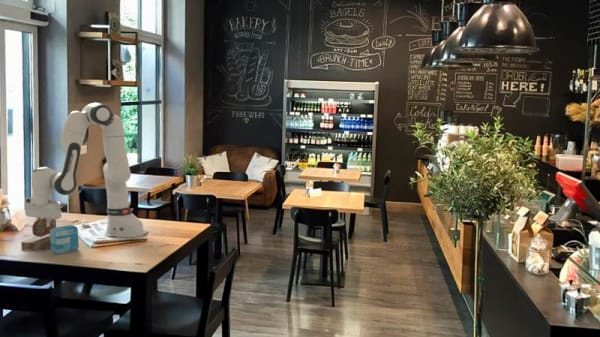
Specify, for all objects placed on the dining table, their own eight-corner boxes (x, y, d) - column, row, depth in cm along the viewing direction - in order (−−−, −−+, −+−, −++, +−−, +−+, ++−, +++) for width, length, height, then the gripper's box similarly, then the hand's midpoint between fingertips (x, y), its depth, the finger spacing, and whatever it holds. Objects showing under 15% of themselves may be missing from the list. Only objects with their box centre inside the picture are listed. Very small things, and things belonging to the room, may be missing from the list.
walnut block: (67, 240, 314) (67, 233, 313) (43, 251, 295) (42, 243, 294) (47, 239, 317) (46, 232, 316) (21, 250, 297) (21, 242, 297)
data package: (55, 254, 288) (53, 230, 286) (50, 253, 291) (49, 228, 289) (79, 249, 297) (77, 225, 295) (74, 247, 300) (73, 224, 298)
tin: (36, 238, 298) (36, 222, 296) (30, 237, 298) (31, 221, 297) (56, 231, 312) (57, 215, 310) (51, 230, 313) (51, 214, 311)
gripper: (63, 199, 301) (65, 226, 303) (31, 196, 309) (33, 223, 311) (54, 202, 296) (55, 229, 298) (21, 199, 303) (23, 226, 305)
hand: (44, 226), depth 304 cm, fingers closed on tin, 3 cm apart
